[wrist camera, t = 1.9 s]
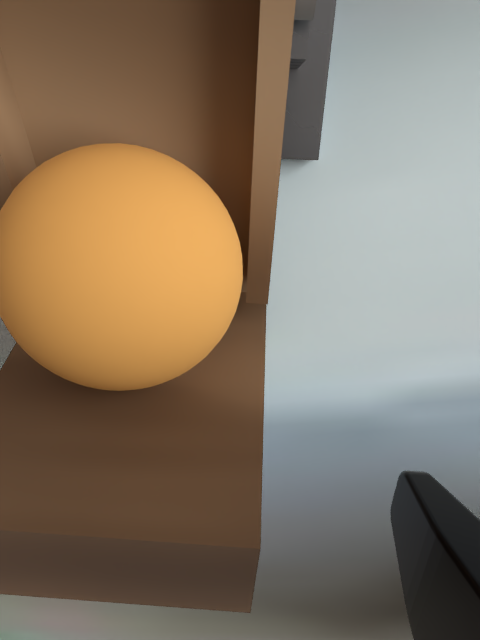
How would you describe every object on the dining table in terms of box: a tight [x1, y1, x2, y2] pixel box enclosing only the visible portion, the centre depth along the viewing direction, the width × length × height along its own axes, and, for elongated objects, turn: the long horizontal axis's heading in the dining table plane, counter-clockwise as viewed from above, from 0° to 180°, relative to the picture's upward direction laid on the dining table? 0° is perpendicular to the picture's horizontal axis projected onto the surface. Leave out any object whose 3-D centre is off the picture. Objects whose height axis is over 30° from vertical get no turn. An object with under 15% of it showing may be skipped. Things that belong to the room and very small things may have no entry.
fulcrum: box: [281, 0, 336, 160], centre depth 8 cm, size 5×6×2 cm
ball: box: [0, 143, 243, 391], centre depth 7 cm, size 4×4×4 cm
